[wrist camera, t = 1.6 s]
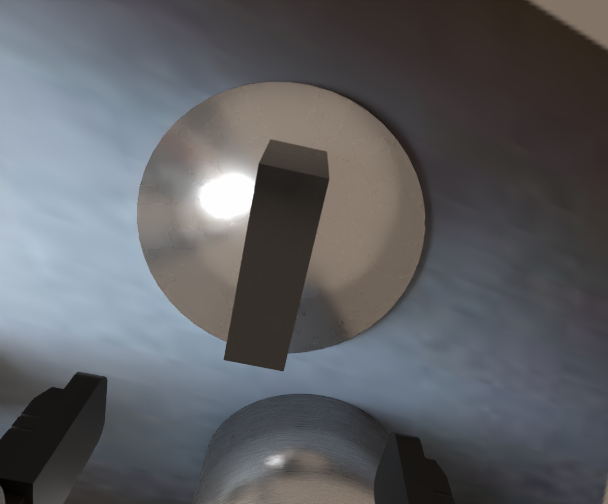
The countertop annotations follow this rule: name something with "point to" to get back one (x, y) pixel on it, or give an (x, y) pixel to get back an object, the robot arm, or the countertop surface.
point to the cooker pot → (293, 454)
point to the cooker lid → (280, 219)
